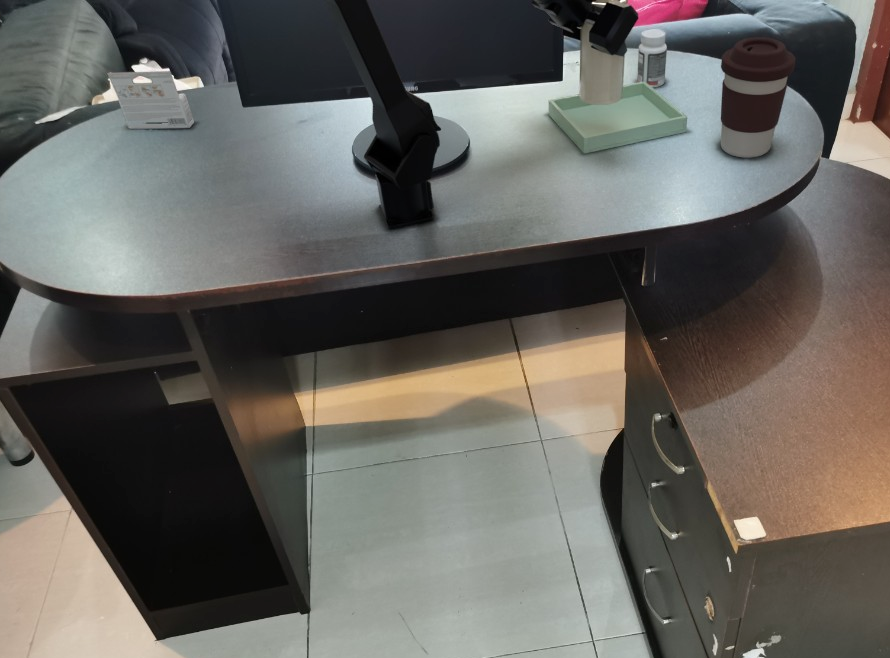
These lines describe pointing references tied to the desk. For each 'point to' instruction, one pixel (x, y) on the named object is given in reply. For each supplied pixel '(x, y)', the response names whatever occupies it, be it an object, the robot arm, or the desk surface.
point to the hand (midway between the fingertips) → (609, 47)
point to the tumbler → (599, 70)
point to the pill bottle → (652, 57)
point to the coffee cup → (753, 94)
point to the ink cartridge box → (151, 100)
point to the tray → (618, 118)
